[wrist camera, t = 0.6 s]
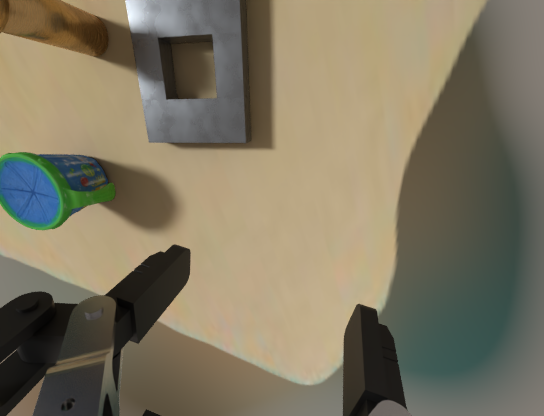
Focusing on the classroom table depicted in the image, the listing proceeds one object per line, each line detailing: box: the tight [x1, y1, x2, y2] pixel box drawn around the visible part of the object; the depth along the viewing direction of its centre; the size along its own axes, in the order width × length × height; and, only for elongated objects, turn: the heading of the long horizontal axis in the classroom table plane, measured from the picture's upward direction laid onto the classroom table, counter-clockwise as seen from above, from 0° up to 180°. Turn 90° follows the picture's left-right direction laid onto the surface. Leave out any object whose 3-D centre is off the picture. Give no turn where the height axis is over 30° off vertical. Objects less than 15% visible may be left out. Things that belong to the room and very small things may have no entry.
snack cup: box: [0, 152, 116, 230], centre depth 39 cm, size 16×10×10 cm
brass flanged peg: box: [0, 0, 108, 56], centre depth 29 cm, size 7×7×14 cm
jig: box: [125, 0, 251, 143], centre depth 34 cm, size 18×14×3 cm
